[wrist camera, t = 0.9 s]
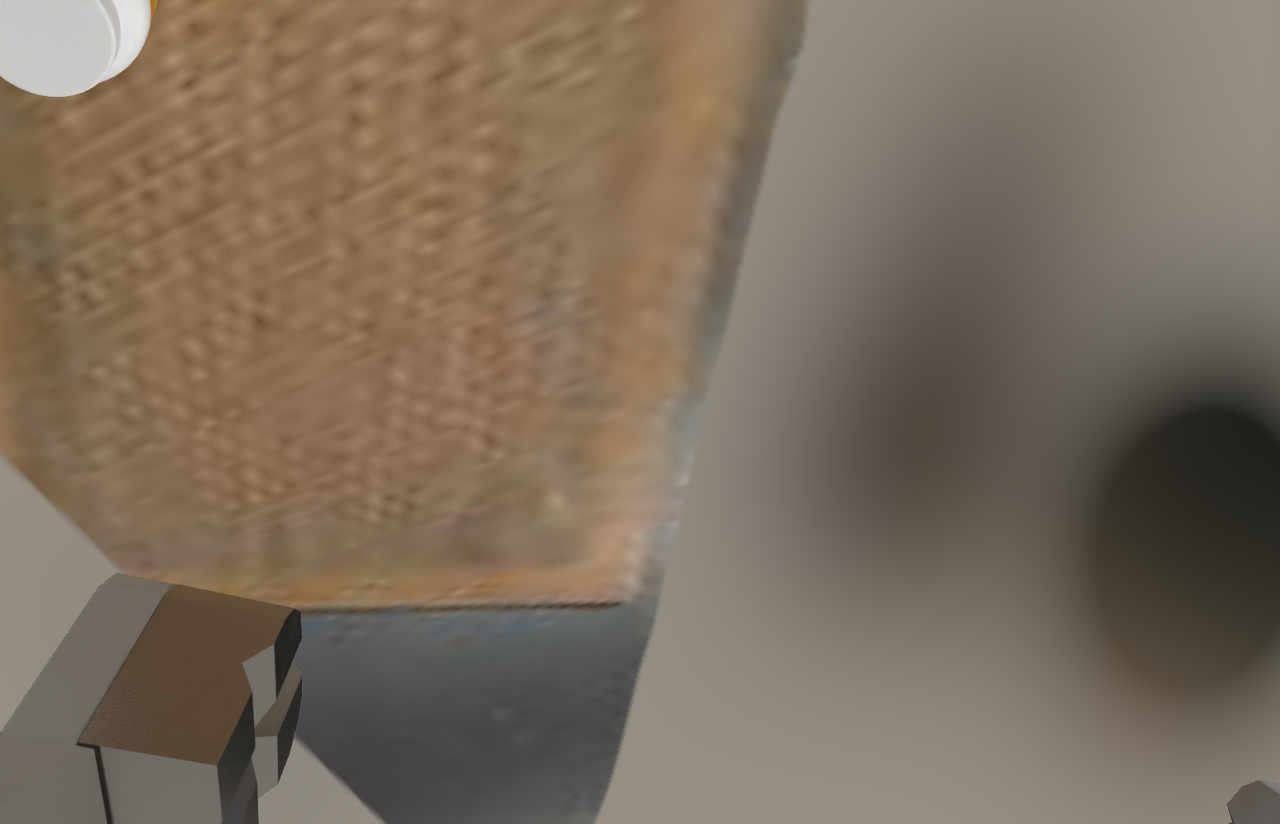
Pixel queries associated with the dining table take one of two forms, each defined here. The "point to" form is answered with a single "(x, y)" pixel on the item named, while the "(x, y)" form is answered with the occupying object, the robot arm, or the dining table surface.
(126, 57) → the supplement bottle
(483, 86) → the dining table surface
